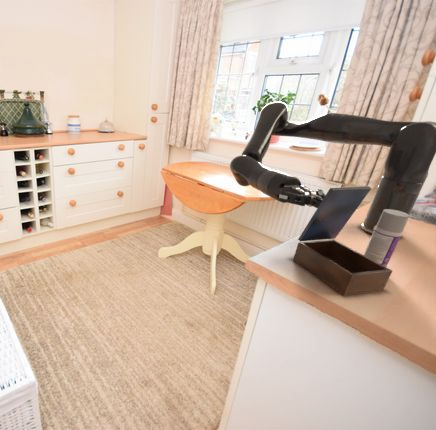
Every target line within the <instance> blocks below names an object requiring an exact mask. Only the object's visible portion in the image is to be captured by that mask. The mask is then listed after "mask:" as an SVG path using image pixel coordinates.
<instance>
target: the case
mask: <svg viewBox="0 0 436 430" xmlns="http://www.w3.org/2000/svg"><path fill="white" fill-rule="evenodd" d="M292 261H294V262H295V263H297V264H298V265H299V266H301V267H302V268H304V269H306V270H307V271H309V273H311V274H312V275H314V276H315V277H317V278H318V279H319V280H321V281H322V282H324V283H325V284H327V285H328V286H330V288H332V289H334V290H335V291H336V292H338V293H339V294H341V295H342V296H345V297H346V296H353V295H359V294H367V293H374V292H375V293H376V292H383V291H384V290H385V287H386V286H387V283H388V282H389V279H390V277H391V275H392V273H393V270H392V269H390V268H389V267H385V266H383V265H381V264H379V263H377V262H375V261H373V260H371V259H369V258H368V257H366V256H364V254H362V253H360V252H358V251H357V250H354V249H352V248H351V247H349V246H347V245H345V244H343V243H342V242H340V241H337V240H336V239H324V240H311V241H299V242H298V243H297V246H296V249H295V252H294V255H293V259H292Z"/></svg>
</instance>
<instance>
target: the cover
mask: <svg viewBox="0 0 436 430" xmlns="http://www.w3.org/2000/svg"><path fill="white" fill-rule="evenodd" d="M371 190H372V187H370V186H348V187H347V186H345V187H329V189H328V191H327V193H326V194H325V195H326V196H325V197H324V199H323V200H322V202H321V204H320V205H319V207H318V208H316V210H315V212H314V213H313V215H312V217H311V218H310V220H309V221H308V223H307V224H306V226H305V228H304V229H303V231H302V232H301V234H300V236H299V237H298V239H297V240H298V241H299V242H307V241H319V240H331V239H334V240H336V238H337V237H338V236H339V234H340V233H341V231H342V230H343V228H345V226H346V224H347V223H348V222H349V220H350V219H351V218H352V216H353V215H354V213H355V212H356V210H357V209H358V208H359V207H360V205H361V204H362V202H363V201H364V200H365V198H366V197H367V195H368V194H369V193H370V191H371Z"/></svg>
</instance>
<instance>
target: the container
mask: <svg viewBox="0 0 436 430" xmlns="http://www.w3.org/2000/svg"><path fill="white" fill-rule="evenodd" d="M409 218H410V215H408V214H407V213H404V212H401V211H397V210H391V209H385V210H383V212H382V214H381V217H380V219H379V221H378V223H377V225H376V227H375V230H374V232H373V234H371V237H370V239H369V241H368V245H367V246H366V248H365V251H364V252H363V253H364V254H363V255H364V256H366V257H368V258H369V259H371V260H373V261H375V262H377V263H379V264H381V265H383V266H385V267H386V268H388V265H389V263H390V261H391V259H392V257H393V254H394V252H395V249H396V247H397V245H398V243H399V242H400V239H401V237H402V235H403V232H404V230H405V227H406V225H407V223H408V221H409Z"/></svg>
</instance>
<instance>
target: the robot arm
mask: <svg viewBox="0 0 436 430" xmlns="http://www.w3.org/2000/svg"><path fill="white" fill-rule="evenodd" d="M272 136H276V137H289V138H290V137H291V138H299V139H300V138H301V139H307V140H315V141H320V142H325V143H333V144H341V145H354V146H355V145H356V146H358V145H362V146H363V145H364V146H365V145H366V146H367V145H368V146H380V147H385V148H389V150H388V154H387V155H386V159H385V161H384V166H383V173H382V175H381V177H380V179H379V182H378V185H377V188H376V190H375V193H374V195H373V197H372V200H371V202H370V205H369V208H368V209H367V211H366V212H367V213H366V214H365V218H364V219H363V223H362V224H361V226H360V228H361V230H362V231H365V232H367V233H369V234H371V235H372V234H373V232H374V230H375V227H376V225H377V223H378V221H379V219H380V217H381V214H382V212H383V210H385V209H391V210H397V211H401V212H404V213H407V214H408V215H409V216H410V215H411V213H412V211H413V209H414V206H415V205H416V202H417V200H418V197H419V196H420V193H421V190H422V189H423V187H424V184H425V183H426V180H427V178H428V176H429V171H430V168H431V167H430V166H431V165H432V163H433V160H434V158H435V156H436V122H435V121H430V120H429V121H428V120H425V121H398V120H397V121H394V120H384V119H379V118H373V117H369V116H368V117H367V116H364V115H363V116H362V115H357V114H347V113H340V112H339V113H338V112H327V113H323V114H320V115H318V116H315V117H312V118H311V119H309V120H306V121H301V122H298V121H297V122H296V121H295V122H294V121H290V120H289V108H288V105H287V104H286V103H285V102H282V101H273V102H270V103H267V104H266V105H265V106H263V108H262V109H261V111H260V113H259V116H258V120H257V122H256V125H255V128H254V130H253V133H252V135H251V137H250V139H249V141H248V142H247V144H246V146H245V147H244V149H243V150H242V153H241V155H238V156H235V157H233V158H232V159H231V161H230V163H229V170H230V172H231V173H232V175H233V177H234V180H235V181H236V183H237V184H238V185H239V186H241V187H249V186H250V187H252V188H254V189H255V190H257V191H260V192H261V193H263V194H264V195H266V196H268V197H270V198H272V199H273V200H277V201H278V202H280V203H282V204H283V203H284V204H286V203H287V204H293V205H296V206H300V207H305V206H308V207H311V208H312V207H313V208H316V209H317V208H318V207H319V205H320V204H321V202H322V200H323V199H324V197H325V196H326V194H325V191H324V190H323V189H320V188H319V189H317V190H313V189H310V188H308V187H307V186H305V185H302V182H301V180H300V179H299V178H298V177H296V176H293V175H291V174H288V173H285V172H283V171H280V170H275V169H271V168H270V167H267V166H264V165H263V159H264V157H265V156H266V154H267V152H268V150H269V148H270V144H271V140H272Z"/></svg>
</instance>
